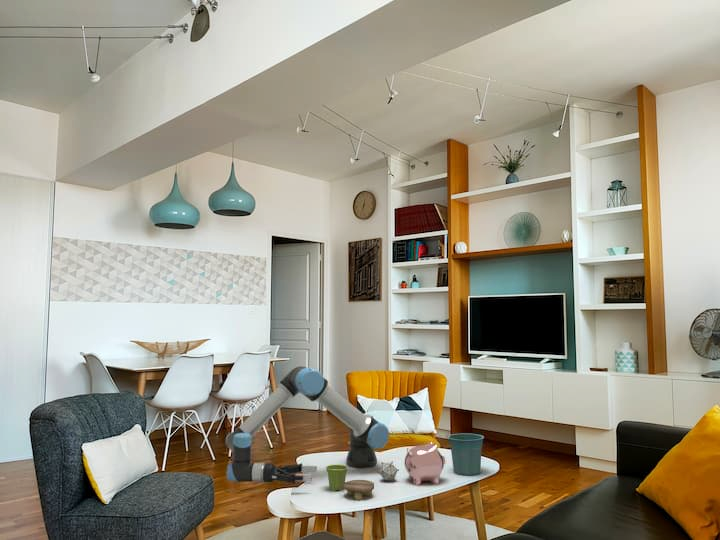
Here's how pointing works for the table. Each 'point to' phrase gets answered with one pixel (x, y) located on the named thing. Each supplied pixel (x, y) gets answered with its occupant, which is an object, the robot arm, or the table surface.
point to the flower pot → (466, 453)
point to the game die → (388, 471)
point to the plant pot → (336, 476)
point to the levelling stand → (359, 488)
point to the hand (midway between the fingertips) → (314, 473)
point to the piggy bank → (424, 463)
